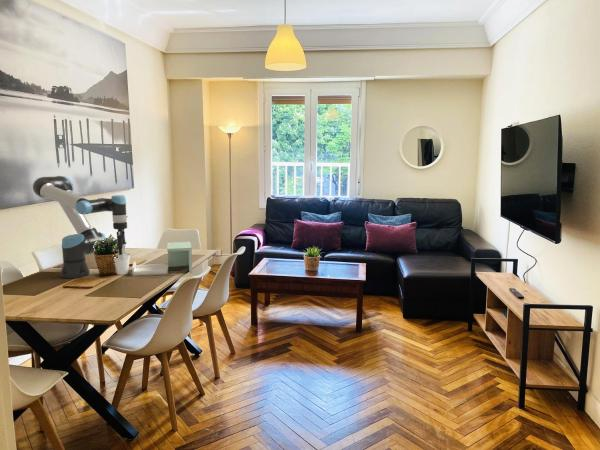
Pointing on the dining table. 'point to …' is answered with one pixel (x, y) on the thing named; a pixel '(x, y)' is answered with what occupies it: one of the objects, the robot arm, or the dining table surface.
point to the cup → (122, 264)
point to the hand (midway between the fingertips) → (122, 257)
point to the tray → (149, 269)
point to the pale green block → (180, 254)
